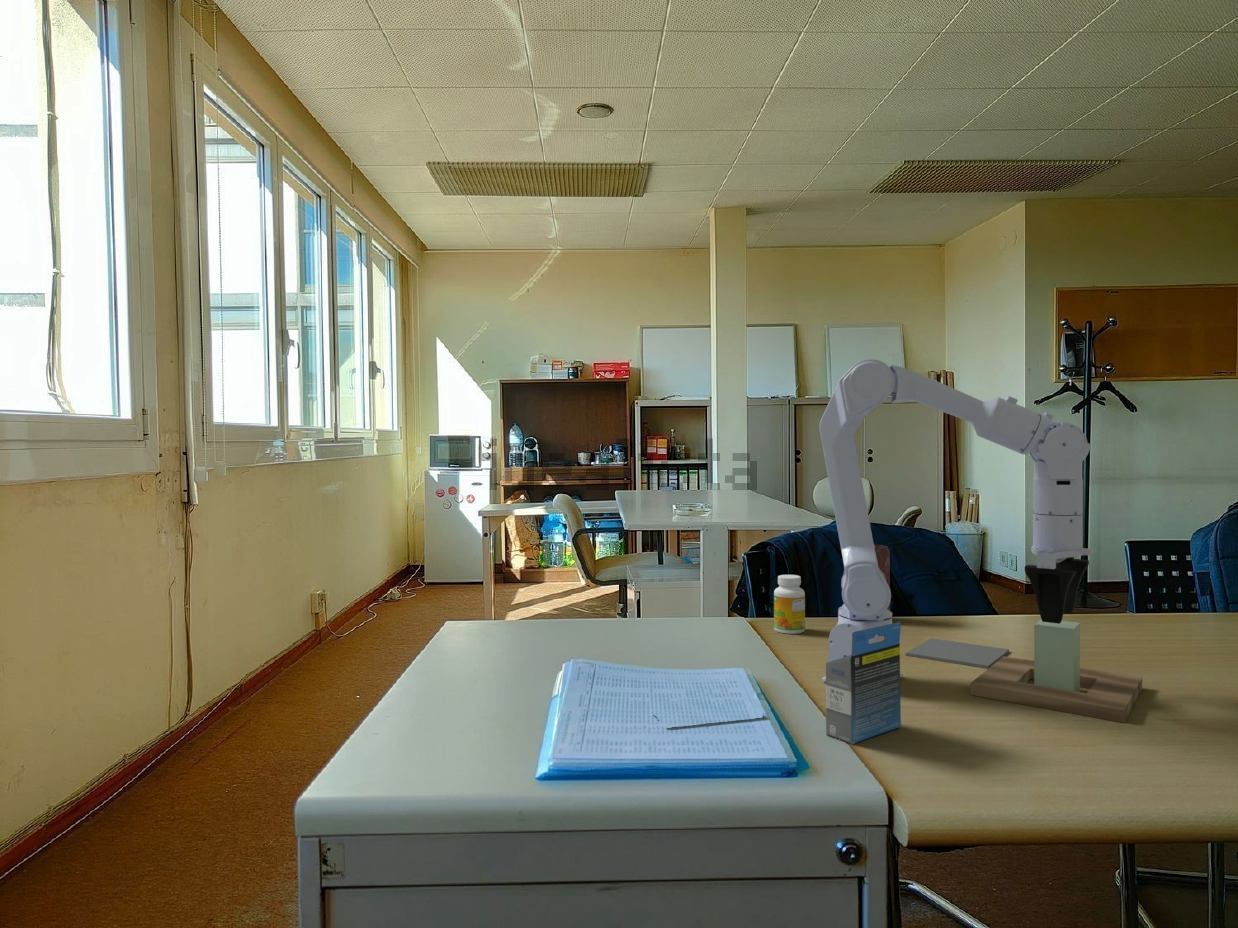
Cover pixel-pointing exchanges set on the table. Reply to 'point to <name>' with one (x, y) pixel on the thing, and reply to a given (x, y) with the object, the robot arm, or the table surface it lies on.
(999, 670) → the collar
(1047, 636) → the peg
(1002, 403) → the robot arm
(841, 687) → the label tape cartridge
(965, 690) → the table surface
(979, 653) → the pad
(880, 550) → the can
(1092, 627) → the table surface
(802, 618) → the supplement bottle
